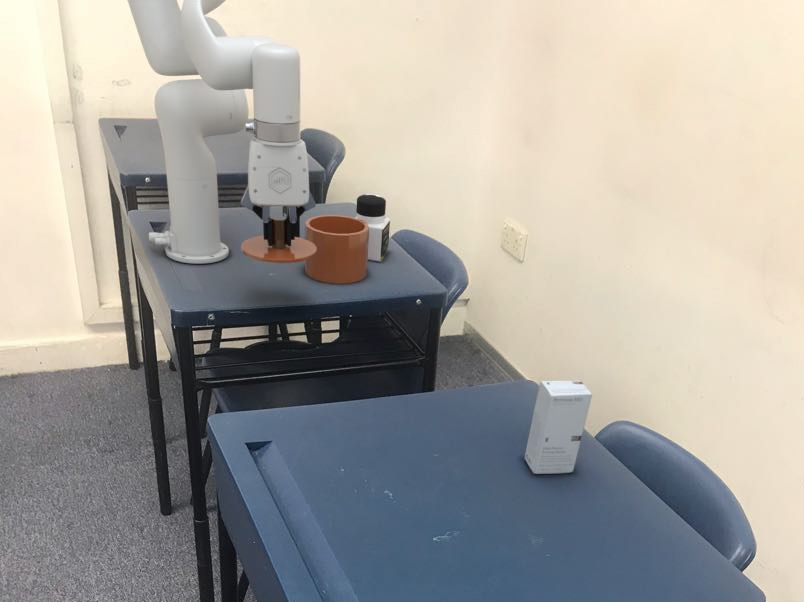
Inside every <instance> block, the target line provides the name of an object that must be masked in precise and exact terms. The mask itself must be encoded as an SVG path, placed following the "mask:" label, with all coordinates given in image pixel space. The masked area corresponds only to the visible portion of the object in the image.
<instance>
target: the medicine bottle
mask: <svg viewBox="0 0 804 602" xmlns="http://www.w3.org/2000/svg"><path fill="white" fill-rule="evenodd" d="M386 204H387V200H386V199H385V198H384V197H383V196H381V195H378V194H374V193H365V194H361V195H359V196H358V197H357V198H356V213H355V215H356V216H355V217H354V218H357V219H360V220H362V221H364V222H366V223H367V224H368V226H369V244H368V261H372V262H373V261H374V262H382V261H383V259H384V258H385V256H386V254H387V253H388V251H389V243H390V242H389V241H390V228H391V227H390V226H391V219H390V218H388V217H386V210H387V209H386V208H387V205H386Z"/></svg>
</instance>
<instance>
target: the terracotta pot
mask: <svg viewBox="0 0 804 602" xmlns="http://www.w3.org/2000/svg"><path fill="white" fill-rule="evenodd" d="M304 239H305V240H308V241H310V242H312V243H313V244H315V246H316V247H317V253H316V255H315V256H314V257H312V258H310V259H308V260H304V270H305V271H304V272H305V274H306V276H308V277H309V278H311V279H313V280H316V281H319V282H323V283H327V284H338V285H339V284H341V285H342V284H343V285H344V284H353V283H357V282H360V281H362V280H364V279H366V277H367V273H368V261H369V260H368V244H369V226H368V224H367V223H366V222H364V221H362V220H360V219H357V218H355V217H353V216H349V215H348V216H347V215H342V214H341V215H340V214H323V215H322V214H321V215H315V216H313V217H309V218H307V220H305V222H304Z"/></svg>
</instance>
